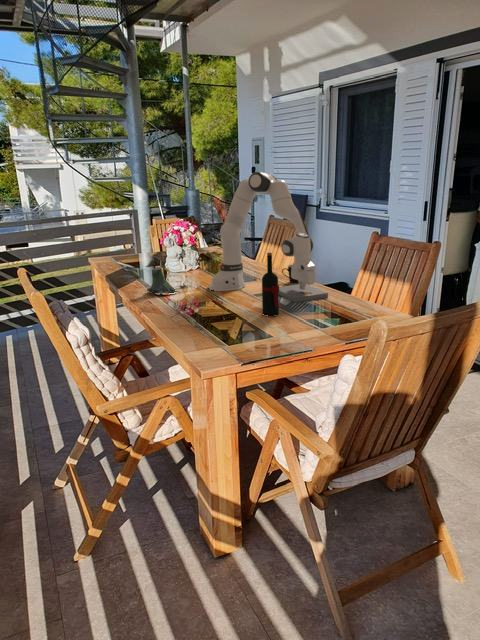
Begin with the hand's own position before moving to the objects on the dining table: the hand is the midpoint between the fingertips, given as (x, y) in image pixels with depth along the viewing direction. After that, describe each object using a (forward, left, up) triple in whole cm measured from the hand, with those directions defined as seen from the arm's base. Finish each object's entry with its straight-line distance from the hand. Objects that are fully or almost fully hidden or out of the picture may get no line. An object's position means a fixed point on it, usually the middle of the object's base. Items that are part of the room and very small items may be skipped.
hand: (302, 289), depth 262 cm
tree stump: (-65, +48, -4) cm, 81 cm away
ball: (0, -5, -2) cm, 5 cm away
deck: (0, +3, -4) cm, 4 cm away
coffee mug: (+11, +32, -4) cm, 34 cm away
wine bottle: (-30, -23, -4) cm, 38 cm away
